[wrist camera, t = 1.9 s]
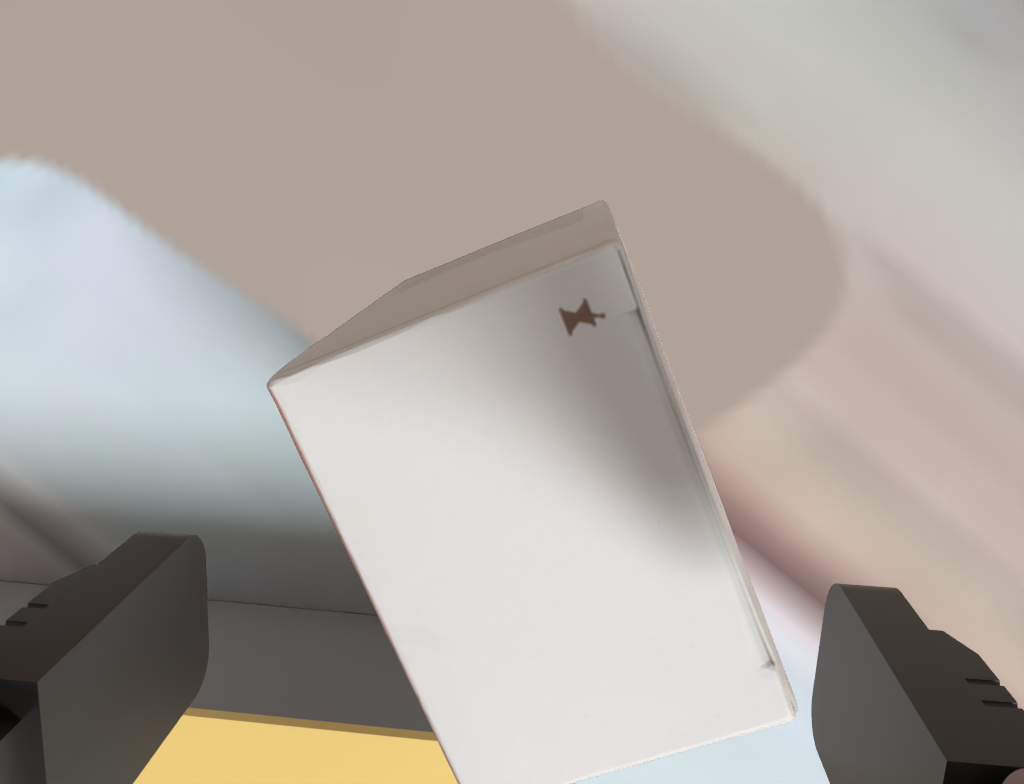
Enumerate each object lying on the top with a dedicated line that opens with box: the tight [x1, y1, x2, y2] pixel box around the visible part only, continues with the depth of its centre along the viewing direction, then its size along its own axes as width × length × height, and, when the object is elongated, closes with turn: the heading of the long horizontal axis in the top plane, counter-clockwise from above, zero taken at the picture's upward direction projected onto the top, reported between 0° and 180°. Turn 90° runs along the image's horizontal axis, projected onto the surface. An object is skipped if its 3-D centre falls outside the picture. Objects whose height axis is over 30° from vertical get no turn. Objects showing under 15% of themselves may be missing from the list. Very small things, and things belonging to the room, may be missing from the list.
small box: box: [267, 201, 798, 784], centre depth 18 cm, size 8×6×10 cm
